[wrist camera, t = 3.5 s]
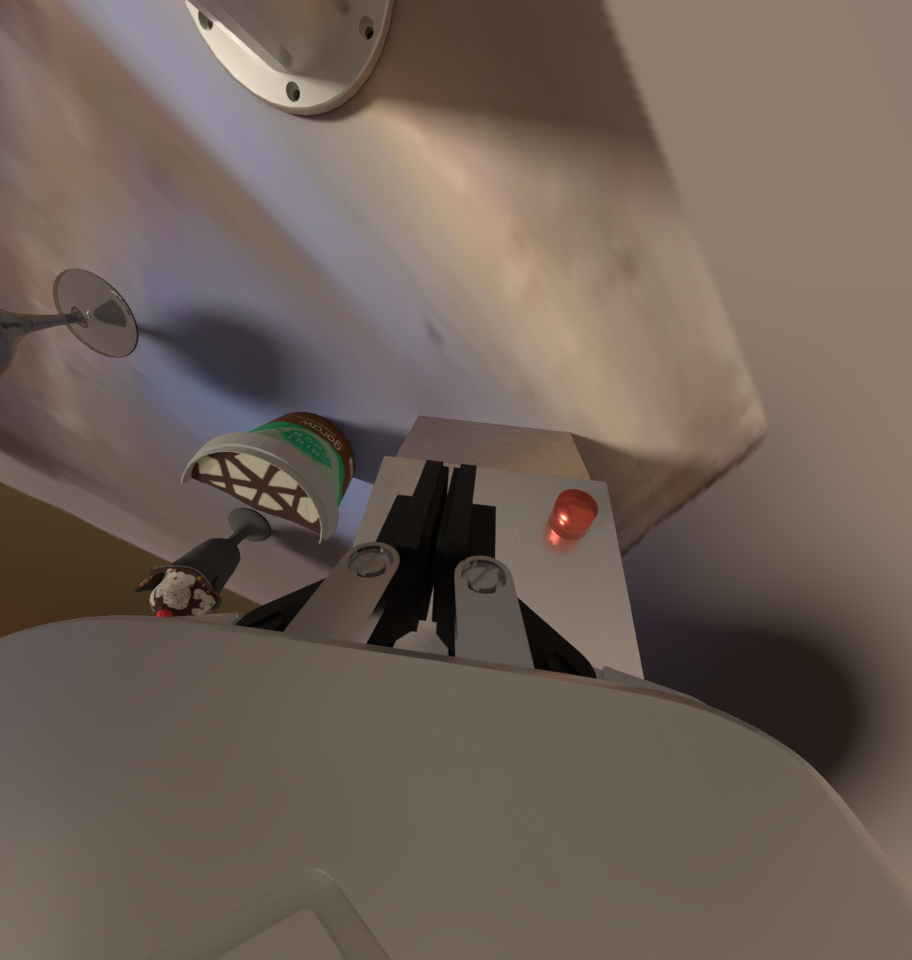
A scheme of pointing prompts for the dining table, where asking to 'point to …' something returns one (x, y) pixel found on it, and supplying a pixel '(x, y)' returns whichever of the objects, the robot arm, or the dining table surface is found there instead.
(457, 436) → the white hinged box
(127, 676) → the robot arm
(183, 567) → the sundae
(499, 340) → the dining table surface
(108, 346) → the wine glass
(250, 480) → the food container
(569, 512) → the lid
